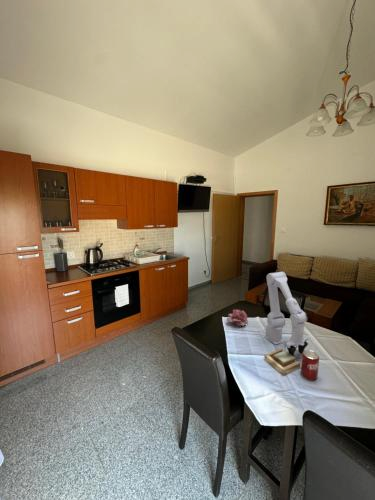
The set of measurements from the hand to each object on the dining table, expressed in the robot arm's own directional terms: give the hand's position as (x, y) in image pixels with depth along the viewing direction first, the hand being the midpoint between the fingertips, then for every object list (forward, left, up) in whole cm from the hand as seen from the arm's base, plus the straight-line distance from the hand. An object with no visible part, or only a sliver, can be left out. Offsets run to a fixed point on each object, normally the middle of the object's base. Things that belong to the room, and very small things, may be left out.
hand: (296, 355), depth 119 cm
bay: (0, -10, -1) cm, 10 cm away
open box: (0, -9, -1) cm, 9 cm away
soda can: (+12, -6, -2) cm, 13 cm away
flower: (-44, -7, -2) cm, 45 cm away
